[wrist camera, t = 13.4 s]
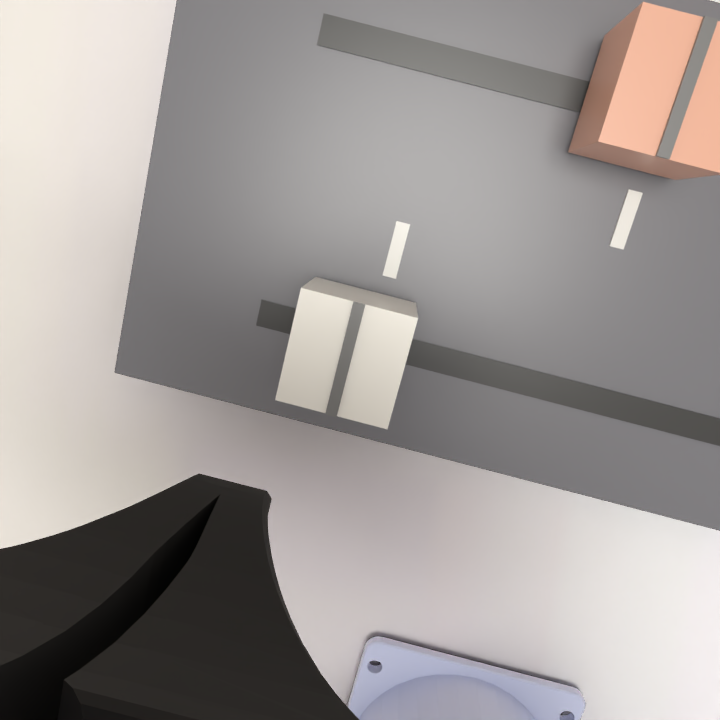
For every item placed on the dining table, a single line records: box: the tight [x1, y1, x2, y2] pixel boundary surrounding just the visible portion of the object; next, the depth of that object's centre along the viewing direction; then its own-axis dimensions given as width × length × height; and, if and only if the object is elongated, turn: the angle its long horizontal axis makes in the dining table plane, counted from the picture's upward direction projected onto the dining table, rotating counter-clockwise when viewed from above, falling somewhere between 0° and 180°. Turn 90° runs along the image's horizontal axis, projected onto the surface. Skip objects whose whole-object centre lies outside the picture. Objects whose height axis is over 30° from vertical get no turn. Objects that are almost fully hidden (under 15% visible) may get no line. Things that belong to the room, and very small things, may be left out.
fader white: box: [275, 277, 418, 429], centre depth 18 cm, size 3×3×3 cm
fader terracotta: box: [568, 2, 720, 180], centre depth 16 cm, size 3×3×3 cm
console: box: [115, 0, 720, 531], centre depth 19 cm, size 14×26×2 cm, turn 76°
